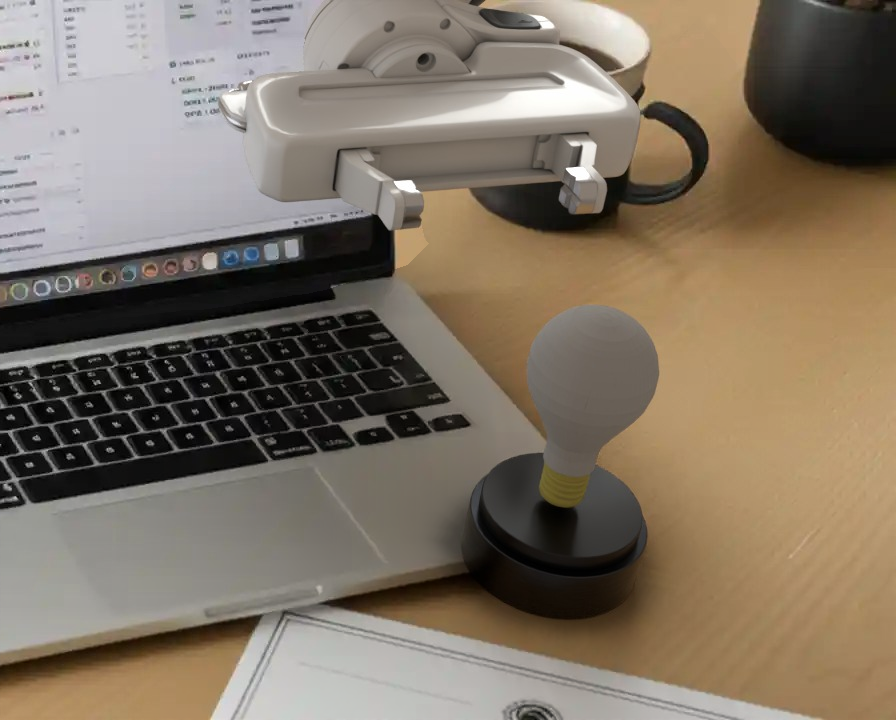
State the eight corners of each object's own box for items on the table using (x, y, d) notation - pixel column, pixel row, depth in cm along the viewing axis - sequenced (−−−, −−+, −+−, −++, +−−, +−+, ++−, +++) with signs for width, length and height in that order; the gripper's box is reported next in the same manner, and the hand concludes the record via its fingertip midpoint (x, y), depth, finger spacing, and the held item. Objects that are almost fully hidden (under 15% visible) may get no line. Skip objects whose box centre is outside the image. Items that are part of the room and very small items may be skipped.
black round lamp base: (587, 491, 80) (601, 438, 78) (667, 605, 74) (684, 550, 72) (434, 512, 78) (445, 457, 76) (504, 631, 72) (518, 575, 70)
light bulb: (606, 465, 77) (656, 283, 71) (631, 545, 72) (686, 357, 66) (489, 459, 76) (530, 276, 70) (507, 538, 72) (553, 349, 66)
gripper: (212, 31, 83) (298, 164, 73) (576, 14, 89) (705, 135, 79) (203, 143, 87) (284, 285, 77) (554, 119, 93) (674, 248, 82)
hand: (501, 208), depth 78 cm, fingers open, 8 cm apart
